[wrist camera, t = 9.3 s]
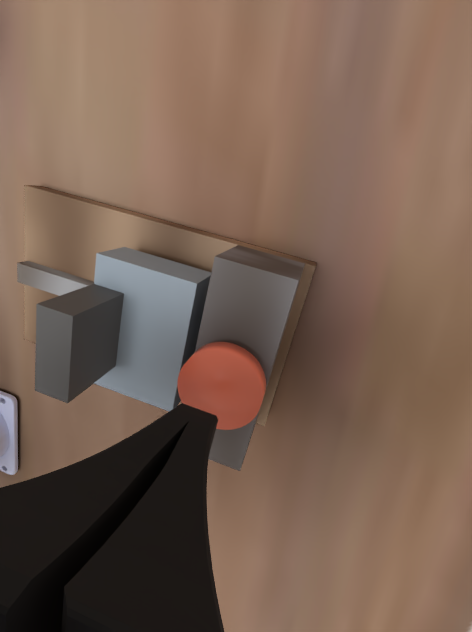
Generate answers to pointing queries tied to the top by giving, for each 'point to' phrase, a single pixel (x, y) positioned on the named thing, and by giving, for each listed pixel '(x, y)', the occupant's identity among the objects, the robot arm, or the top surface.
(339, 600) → the top surface
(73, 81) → the top surface
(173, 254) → the rail bed
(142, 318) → the carriage
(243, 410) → the button
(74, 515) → the robot arm
